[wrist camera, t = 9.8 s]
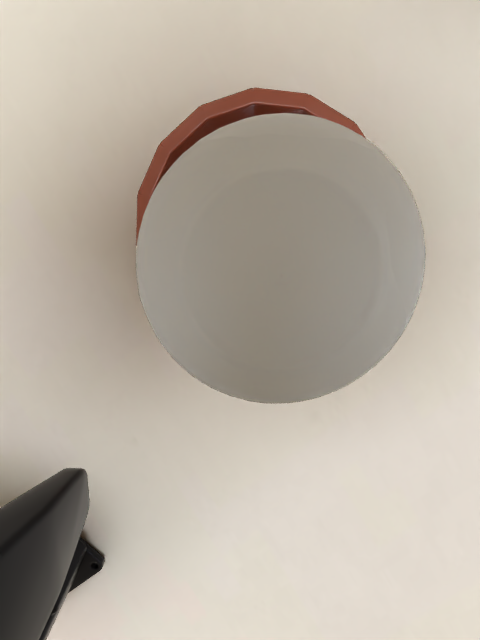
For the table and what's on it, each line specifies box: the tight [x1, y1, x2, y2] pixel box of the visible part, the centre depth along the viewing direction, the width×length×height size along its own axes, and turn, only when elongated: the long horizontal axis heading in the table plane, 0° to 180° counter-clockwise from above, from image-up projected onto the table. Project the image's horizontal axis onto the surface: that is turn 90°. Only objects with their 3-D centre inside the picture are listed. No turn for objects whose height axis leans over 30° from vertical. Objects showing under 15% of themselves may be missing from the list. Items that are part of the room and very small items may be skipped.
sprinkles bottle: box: [136, 113, 426, 403], centre depth 12 cm, size 5×5×13 cm
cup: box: [136, 88, 366, 246], centre depth 16 cm, size 9×9×6 cm
